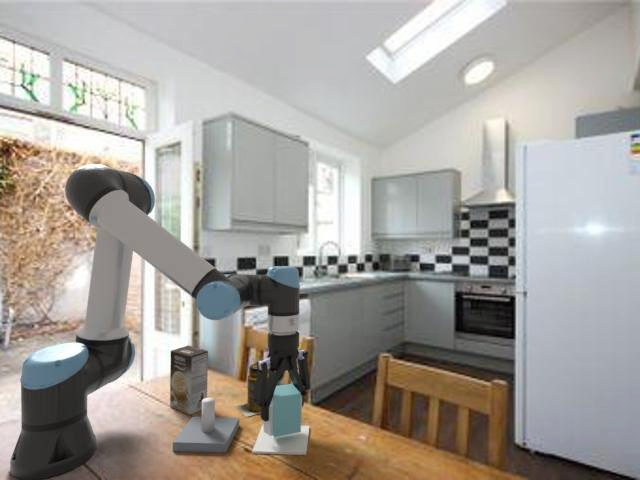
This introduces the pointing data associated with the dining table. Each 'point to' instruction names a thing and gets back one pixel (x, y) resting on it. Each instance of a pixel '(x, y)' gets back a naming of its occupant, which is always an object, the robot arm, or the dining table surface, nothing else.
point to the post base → (206, 439)
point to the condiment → (251, 394)
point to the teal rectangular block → (286, 410)
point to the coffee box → (188, 378)
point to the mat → (282, 443)
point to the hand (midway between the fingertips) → (283, 426)
